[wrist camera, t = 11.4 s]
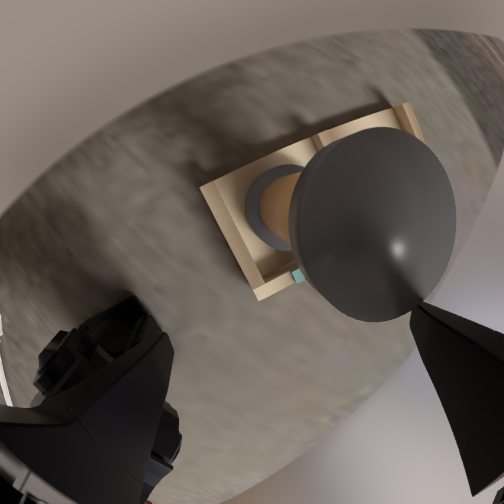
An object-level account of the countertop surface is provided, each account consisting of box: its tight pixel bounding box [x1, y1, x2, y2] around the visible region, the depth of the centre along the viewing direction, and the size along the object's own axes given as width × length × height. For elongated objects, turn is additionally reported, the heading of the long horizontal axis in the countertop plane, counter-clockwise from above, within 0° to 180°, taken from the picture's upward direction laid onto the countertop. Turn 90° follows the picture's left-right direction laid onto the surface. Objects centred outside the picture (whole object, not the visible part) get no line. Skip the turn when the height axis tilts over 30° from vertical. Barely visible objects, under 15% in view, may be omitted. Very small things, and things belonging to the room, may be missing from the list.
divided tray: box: [200, 102, 427, 301], centre depth 20 cm, size 19×9×3 cm, turn 116°
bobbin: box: [245, 127, 456, 322], centre depth 14 cm, size 6×6×13 cm
